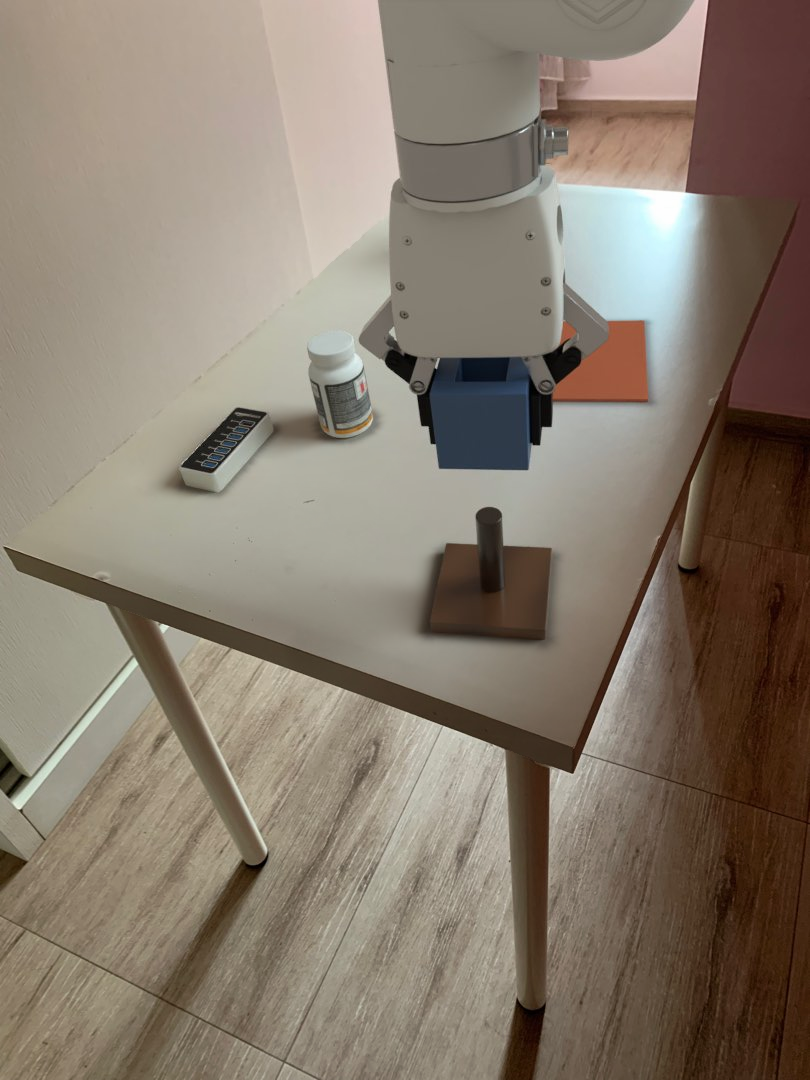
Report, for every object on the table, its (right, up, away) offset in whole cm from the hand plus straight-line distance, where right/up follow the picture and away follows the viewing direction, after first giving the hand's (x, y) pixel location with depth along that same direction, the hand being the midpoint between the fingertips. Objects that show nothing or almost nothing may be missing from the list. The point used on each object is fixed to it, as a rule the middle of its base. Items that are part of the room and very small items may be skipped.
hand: (487, 430), depth 55 cm
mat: (+13, +13, +35) cm, 39 cm away
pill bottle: (-12, +5, +31) cm, 34 cm away
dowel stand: (+2, -12, +11) cm, 17 cm away
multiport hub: (-24, +1, +30) cm, 38 cm away
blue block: (0, -1, +1) cm, 1 cm away
